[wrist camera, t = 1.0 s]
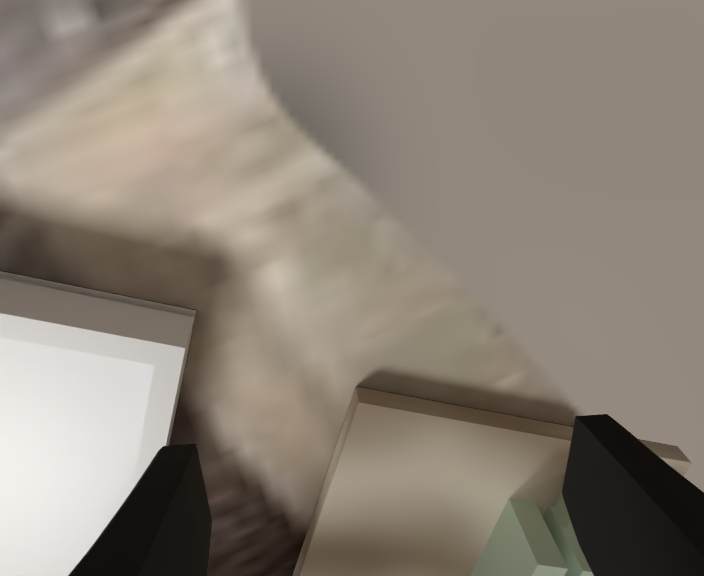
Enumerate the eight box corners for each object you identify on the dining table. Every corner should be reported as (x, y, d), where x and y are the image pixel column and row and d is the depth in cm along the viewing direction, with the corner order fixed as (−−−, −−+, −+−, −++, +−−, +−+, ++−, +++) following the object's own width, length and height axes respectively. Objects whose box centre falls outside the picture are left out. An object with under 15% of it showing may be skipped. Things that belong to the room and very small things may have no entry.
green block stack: (574, 608, 28) (608, 679, 25) (460, 594, 27) (481, 667, 24) (647, 488, 25) (694, 552, 22) (523, 467, 24) (556, 531, 21)
